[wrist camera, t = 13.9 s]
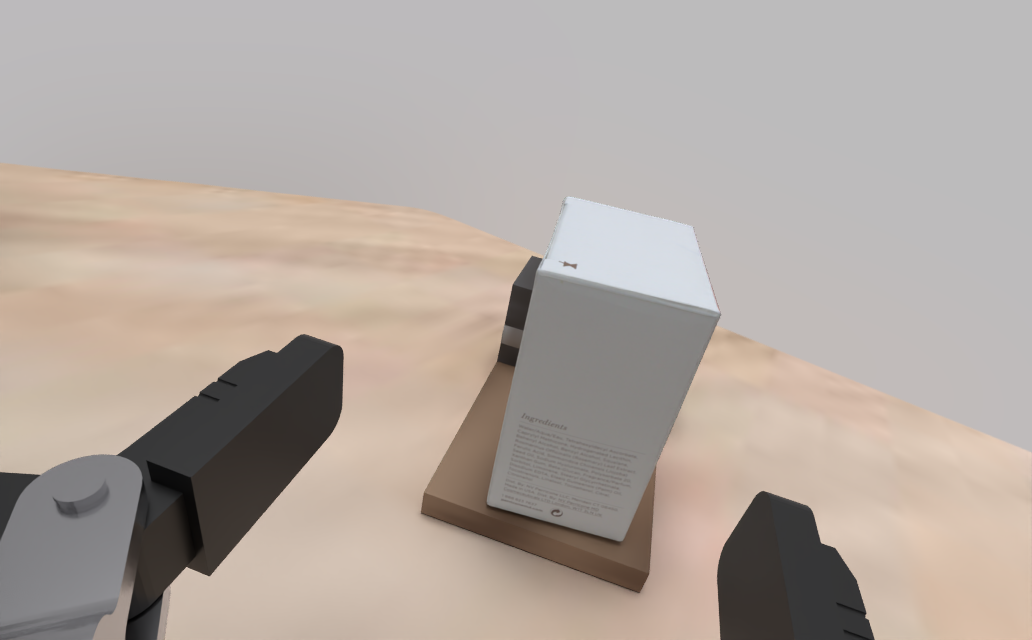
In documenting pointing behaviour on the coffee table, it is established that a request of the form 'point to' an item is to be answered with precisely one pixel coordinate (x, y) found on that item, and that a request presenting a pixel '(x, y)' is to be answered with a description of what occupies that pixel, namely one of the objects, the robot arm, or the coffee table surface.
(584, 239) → the small box
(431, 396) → the coffee table surface
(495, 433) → the stand
